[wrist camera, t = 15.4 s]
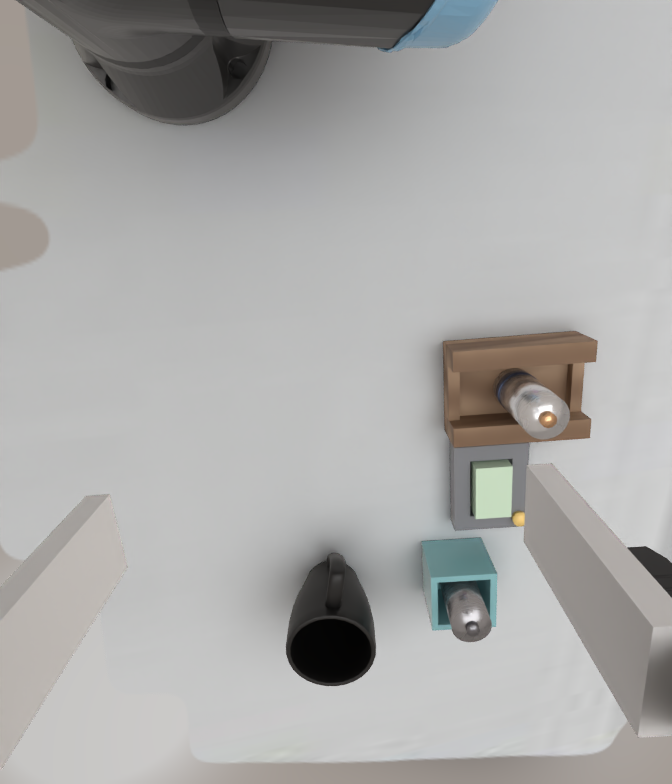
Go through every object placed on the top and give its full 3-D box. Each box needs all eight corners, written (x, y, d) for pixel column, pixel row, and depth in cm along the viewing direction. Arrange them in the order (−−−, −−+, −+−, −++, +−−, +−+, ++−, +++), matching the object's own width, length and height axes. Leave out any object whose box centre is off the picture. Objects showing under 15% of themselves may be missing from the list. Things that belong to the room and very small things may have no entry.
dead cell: (435, 555, 53) (452, 616, 44) (470, 553, 53) (493, 613, 44) (436, 584, 54) (453, 648, 46) (470, 582, 54) (493, 646, 45)
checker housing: (449, 439, 49) (455, 450, 47) (521, 434, 49) (531, 445, 47) (450, 519, 52) (456, 534, 50) (519, 515, 52) (527, 529, 50)
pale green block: (471, 460, 49) (476, 469, 47) (506, 457, 49) (512, 466, 47) (471, 509, 50) (475, 519, 49) (505, 507, 50) (511, 516, 49)
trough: (443, 341, 46) (452, 352, 42) (575, 331, 46) (597, 340, 42) (444, 429, 49) (453, 447, 45) (569, 420, 49) (589, 438, 45)
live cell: (492, 407, 47) (524, 445, 39) (492, 369, 46) (525, 399, 38) (532, 403, 47) (572, 441, 39) (533, 365, 46) (575, 395, 38)
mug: (380, 523, 52) (388, 585, 43) (364, 616, 56) (369, 691, 47) (301, 515, 52) (293, 575, 43) (291, 608, 56) (282, 682, 47)
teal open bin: (421, 541, 53) (430, 577, 48) (480, 537, 53) (497, 573, 47) (423, 589, 55) (432, 630, 49) (480, 586, 55) (496, 626, 49)
